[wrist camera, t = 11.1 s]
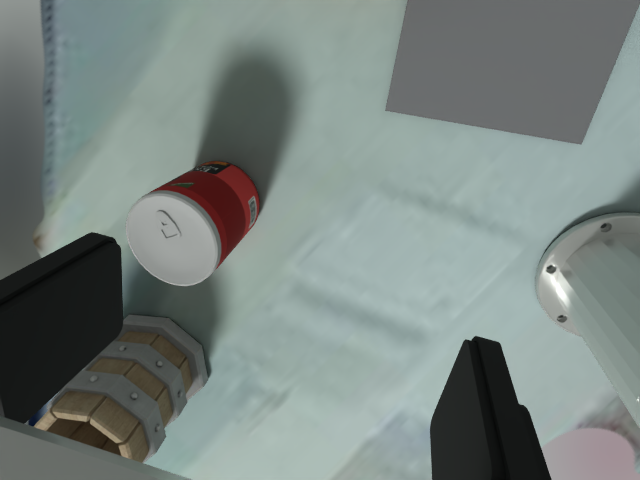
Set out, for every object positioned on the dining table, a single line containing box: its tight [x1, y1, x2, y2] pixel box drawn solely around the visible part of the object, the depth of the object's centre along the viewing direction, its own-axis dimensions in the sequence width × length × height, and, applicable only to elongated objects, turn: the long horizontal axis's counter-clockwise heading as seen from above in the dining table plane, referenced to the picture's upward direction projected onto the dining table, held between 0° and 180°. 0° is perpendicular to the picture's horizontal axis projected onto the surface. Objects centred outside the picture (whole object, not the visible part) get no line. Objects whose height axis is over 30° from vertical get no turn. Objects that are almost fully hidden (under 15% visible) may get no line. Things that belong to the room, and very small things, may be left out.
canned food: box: [126, 161, 259, 286], centre depth 37 cm, size 8×8×11 cm
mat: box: [385, 0, 640, 144], centre depth 31 cm, size 16×16×1 cm
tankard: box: [34, 315, 208, 463], centre depth 47 cm, size 20×13×15 cm, turn 137°
